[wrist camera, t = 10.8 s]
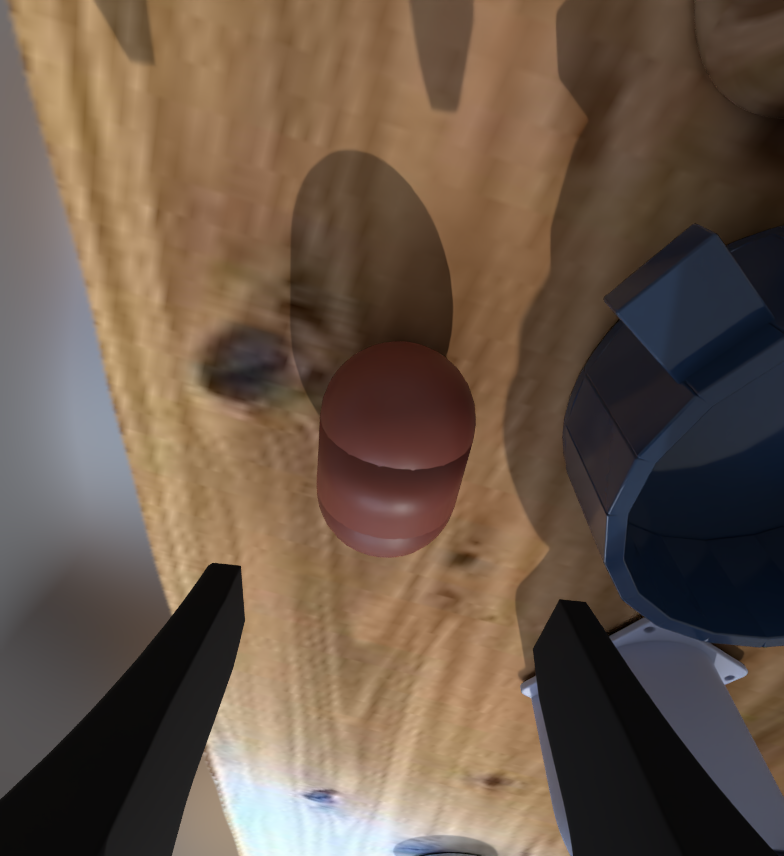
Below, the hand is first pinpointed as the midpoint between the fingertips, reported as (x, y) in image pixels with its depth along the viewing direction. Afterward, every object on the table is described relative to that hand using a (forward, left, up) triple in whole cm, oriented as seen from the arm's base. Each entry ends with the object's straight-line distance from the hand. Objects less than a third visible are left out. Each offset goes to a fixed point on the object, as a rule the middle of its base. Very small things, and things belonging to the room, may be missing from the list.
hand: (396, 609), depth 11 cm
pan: (+8, -10, -8) cm, 15 cm away
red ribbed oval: (0, 0, -8) cm, 8 cm away
